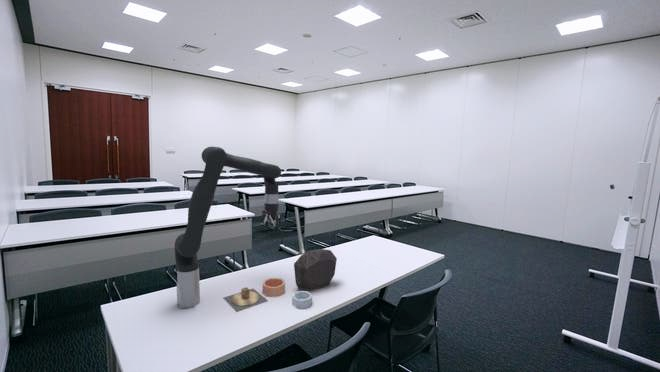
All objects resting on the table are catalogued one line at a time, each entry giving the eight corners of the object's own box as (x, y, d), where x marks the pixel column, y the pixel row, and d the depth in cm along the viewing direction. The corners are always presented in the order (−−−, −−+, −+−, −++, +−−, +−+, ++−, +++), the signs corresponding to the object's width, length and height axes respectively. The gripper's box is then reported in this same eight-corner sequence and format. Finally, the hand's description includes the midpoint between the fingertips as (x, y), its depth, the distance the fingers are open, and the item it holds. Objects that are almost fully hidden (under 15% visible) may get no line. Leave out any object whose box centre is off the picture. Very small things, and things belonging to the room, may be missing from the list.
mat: (236, 312, 139) (236, 312, 139) (222, 298, 151) (222, 297, 151) (268, 301, 149) (268, 301, 149) (253, 289, 161) (253, 288, 161)
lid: (238, 309, 141) (238, 298, 140) (227, 298, 150) (226, 287, 150) (264, 300, 149) (264, 290, 148) (251, 290, 159) (251, 280, 158)
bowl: (269, 299, 151) (269, 289, 150) (259, 290, 159) (259, 281, 159) (288, 292, 158) (288, 283, 157) (277, 284, 166) (277, 276, 166)
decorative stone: (299, 295, 156) (300, 257, 153) (291, 288, 163) (292, 251, 160) (339, 284, 169) (340, 249, 166) (330, 278, 176) (331, 244, 173)
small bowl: (299, 310, 142) (299, 302, 141) (289, 302, 149) (289, 294, 148) (315, 304, 148) (315, 296, 147) (304, 296, 155) (304, 289, 154)
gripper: (258, 200, 169) (257, 229, 171) (273, 204, 159) (273, 235, 161) (269, 199, 174) (269, 227, 176) (285, 203, 164) (284, 232, 166)
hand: (271, 231), depth 169 cm, fingers open, 8 cm apart
